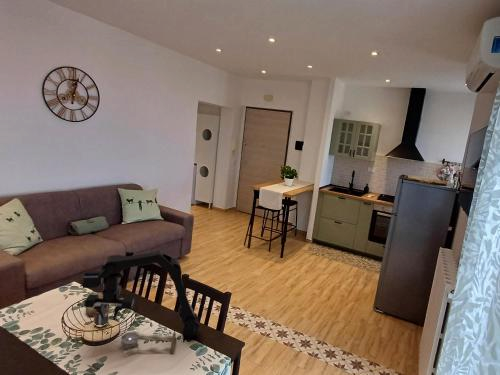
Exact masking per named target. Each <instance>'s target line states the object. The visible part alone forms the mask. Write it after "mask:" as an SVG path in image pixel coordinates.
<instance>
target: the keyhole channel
mask: <svg viewBox="0 0 500 375" xmlns="http://www.w3.org/2000/svg"><path fill="white" fill-rule="evenodd" d="M131 332H134V333H137V334H138V340H139V339H140V340H150V341H161V342H171V343H170V347H133V348H131V349H126V350H125V351H123V352H124V353H123V355H124V357H129V356H132V355H137V354H170V355H173V354H174V351H175V350H174V349H175V343H176V335H177V333H176V332H173V333H172V335H162V334H149V333H140V332H137V331H136V330H132V331H131Z"/></svg>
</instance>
